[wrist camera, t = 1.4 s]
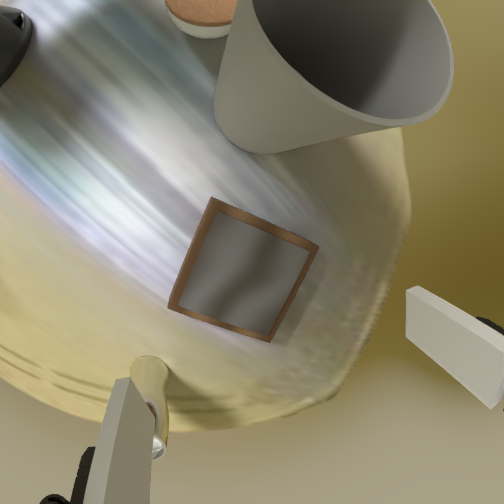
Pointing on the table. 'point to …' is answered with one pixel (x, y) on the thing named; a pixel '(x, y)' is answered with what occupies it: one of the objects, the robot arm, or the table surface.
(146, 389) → the beer glass
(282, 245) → the walnut stand
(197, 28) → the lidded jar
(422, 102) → the cylinder vase
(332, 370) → the table surface
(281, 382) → the table surface
